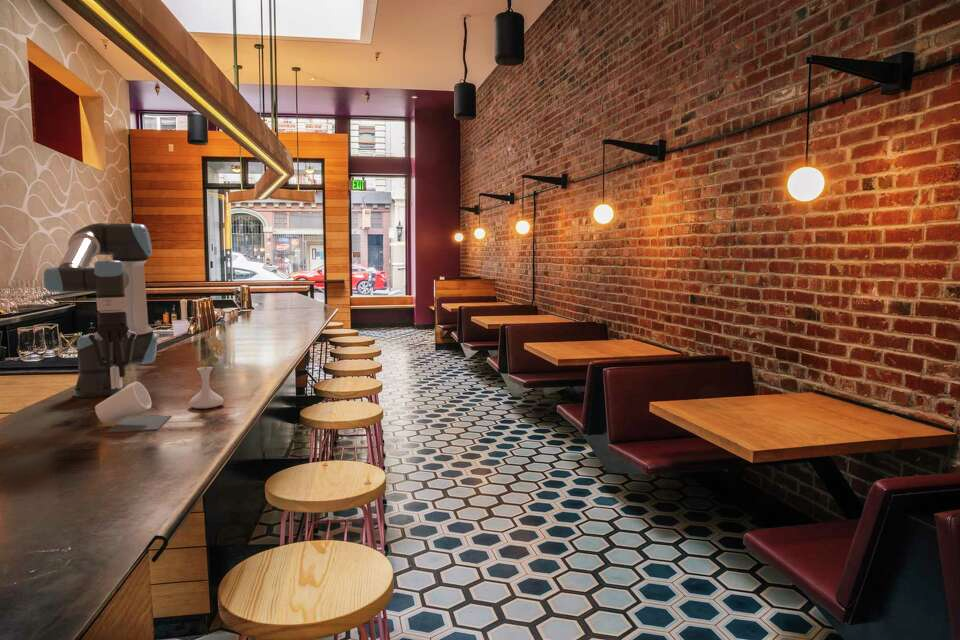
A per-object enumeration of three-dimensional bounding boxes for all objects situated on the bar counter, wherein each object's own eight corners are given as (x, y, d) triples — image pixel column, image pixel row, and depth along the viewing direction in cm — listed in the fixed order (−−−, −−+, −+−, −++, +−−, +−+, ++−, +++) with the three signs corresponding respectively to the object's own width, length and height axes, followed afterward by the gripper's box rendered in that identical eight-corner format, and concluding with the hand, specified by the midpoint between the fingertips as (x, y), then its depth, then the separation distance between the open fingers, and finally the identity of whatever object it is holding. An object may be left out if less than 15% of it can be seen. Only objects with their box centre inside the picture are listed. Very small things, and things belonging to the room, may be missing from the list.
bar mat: (124, 418, 197) (124, 417, 197) (171, 416, 200) (171, 415, 200) (106, 432, 181) (106, 431, 181) (157, 430, 184) (157, 428, 184)
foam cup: (113, 431, 190) (153, 412, 191) (94, 422, 182) (136, 402, 183) (108, 405, 194) (148, 387, 196) (89, 395, 186) (130, 376, 188)
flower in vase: (201, 412, 205) (198, 339, 203) (181, 408, 211) (178, 336, 209) (235, 405, 216) (232, 335, 214) (215, 400, 222) (212, 332, 220)
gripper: (81, 312, 180) (87, 391, 182) (132, 311, 184) (138, 388, 185) (91, 311, 188) (96, 386, 190) (140, 309, 191) (145, 384, 193)
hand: (117, 387), depth 188 cm, fingers closed
